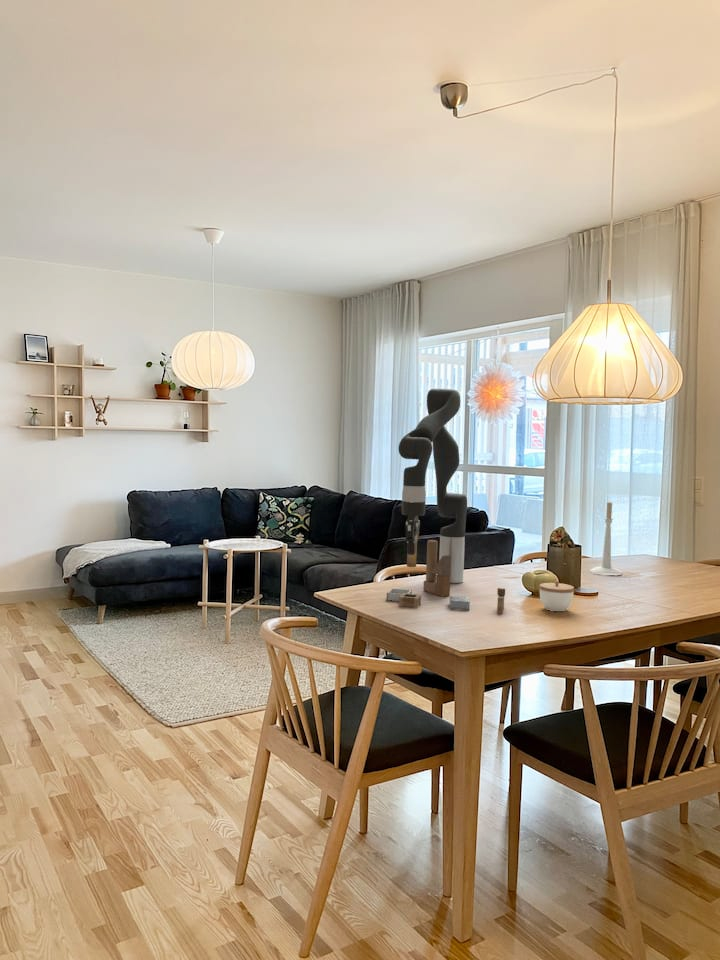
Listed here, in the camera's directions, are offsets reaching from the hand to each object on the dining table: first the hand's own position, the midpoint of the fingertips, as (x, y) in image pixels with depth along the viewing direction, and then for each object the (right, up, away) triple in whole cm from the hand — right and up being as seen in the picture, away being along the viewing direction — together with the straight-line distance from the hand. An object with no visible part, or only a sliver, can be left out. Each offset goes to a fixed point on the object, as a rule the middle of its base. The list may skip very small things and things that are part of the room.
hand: (411, 553), depth 239 cm
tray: (-4, -16, +9) cm, 19 cm away
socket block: (-1, -17, +1) cm, 17 cm away
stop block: (+28, -18, -3) cm, 33 cm away
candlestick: (+85, -15, +70) cm, 112 cm away
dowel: (0, -4, 0) cm, 4 cm away
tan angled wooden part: (+10, -16, +20) cm, 28 cm away
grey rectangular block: (+15, -18, 0) cm, 23 cm away
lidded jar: (+46, -18, +1) cm, 50 cm away
